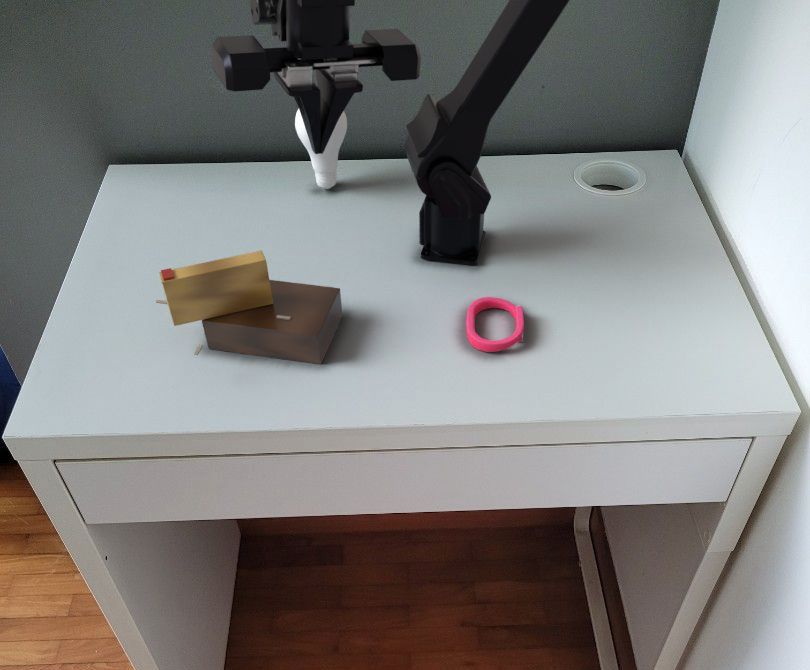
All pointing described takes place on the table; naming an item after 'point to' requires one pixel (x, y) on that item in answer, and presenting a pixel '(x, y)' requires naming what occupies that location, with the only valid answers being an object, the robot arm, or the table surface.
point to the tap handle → (217, 287)
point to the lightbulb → (329, 158)
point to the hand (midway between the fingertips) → (317, 152)
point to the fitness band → (488, 344)
